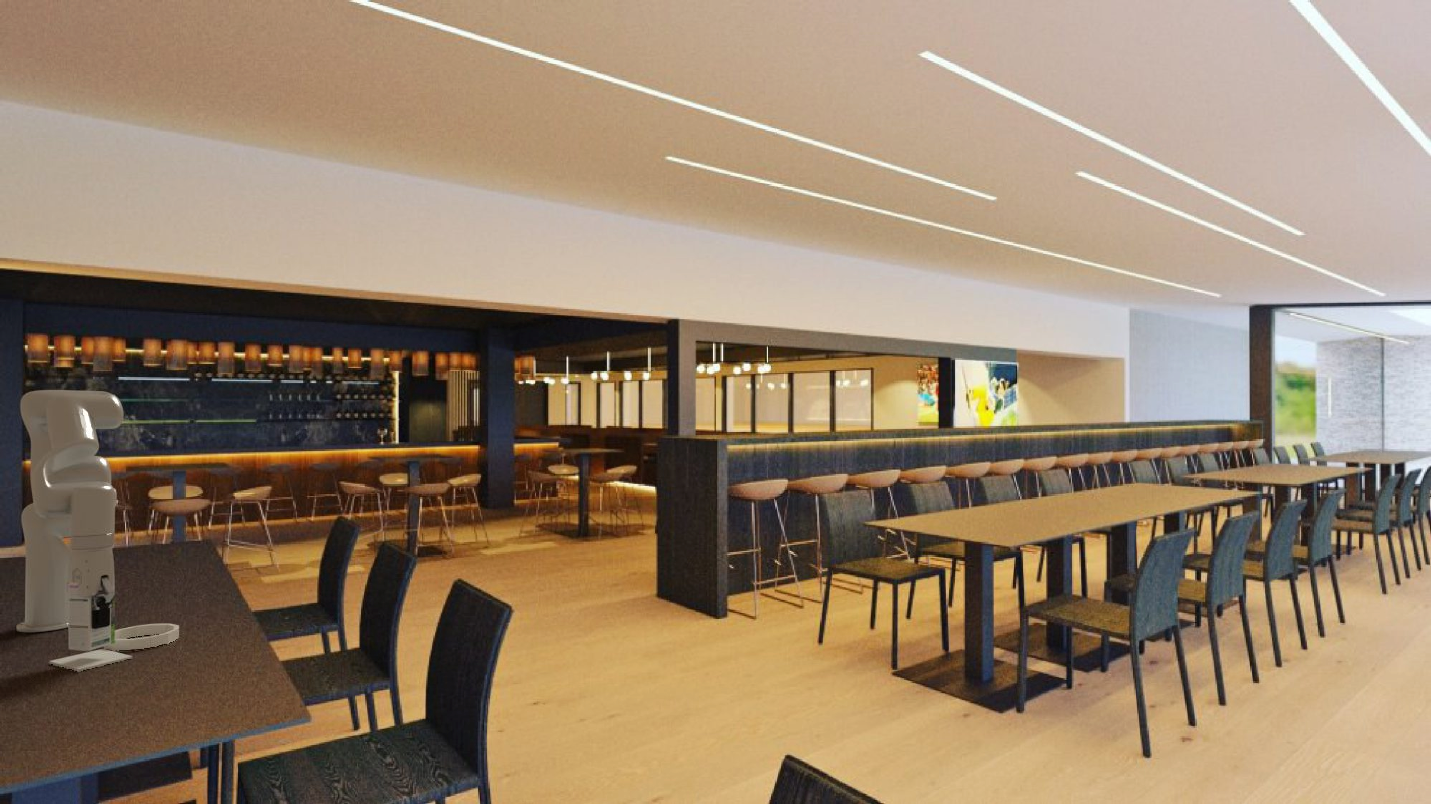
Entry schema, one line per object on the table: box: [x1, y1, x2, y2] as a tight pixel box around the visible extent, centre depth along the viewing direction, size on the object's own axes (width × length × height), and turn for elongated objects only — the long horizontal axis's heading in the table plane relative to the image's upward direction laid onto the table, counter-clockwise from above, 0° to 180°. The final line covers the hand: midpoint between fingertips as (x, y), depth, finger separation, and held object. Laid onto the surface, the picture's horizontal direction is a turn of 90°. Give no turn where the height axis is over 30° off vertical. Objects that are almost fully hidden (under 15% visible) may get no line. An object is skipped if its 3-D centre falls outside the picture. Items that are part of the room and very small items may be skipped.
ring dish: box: [103, 623, 180, 652], centre depth 184 cm, size 14×14×2 cm
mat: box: [48, 648, 133, 673], centre depth 170 cm, size 12×10×1 cm
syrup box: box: [67, 582, 116, 652], centre depth 170 cm, size 6×6×14 cm
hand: (91, 624), depth 170 cm, fingers closed on syrup box, 6 cm apart
